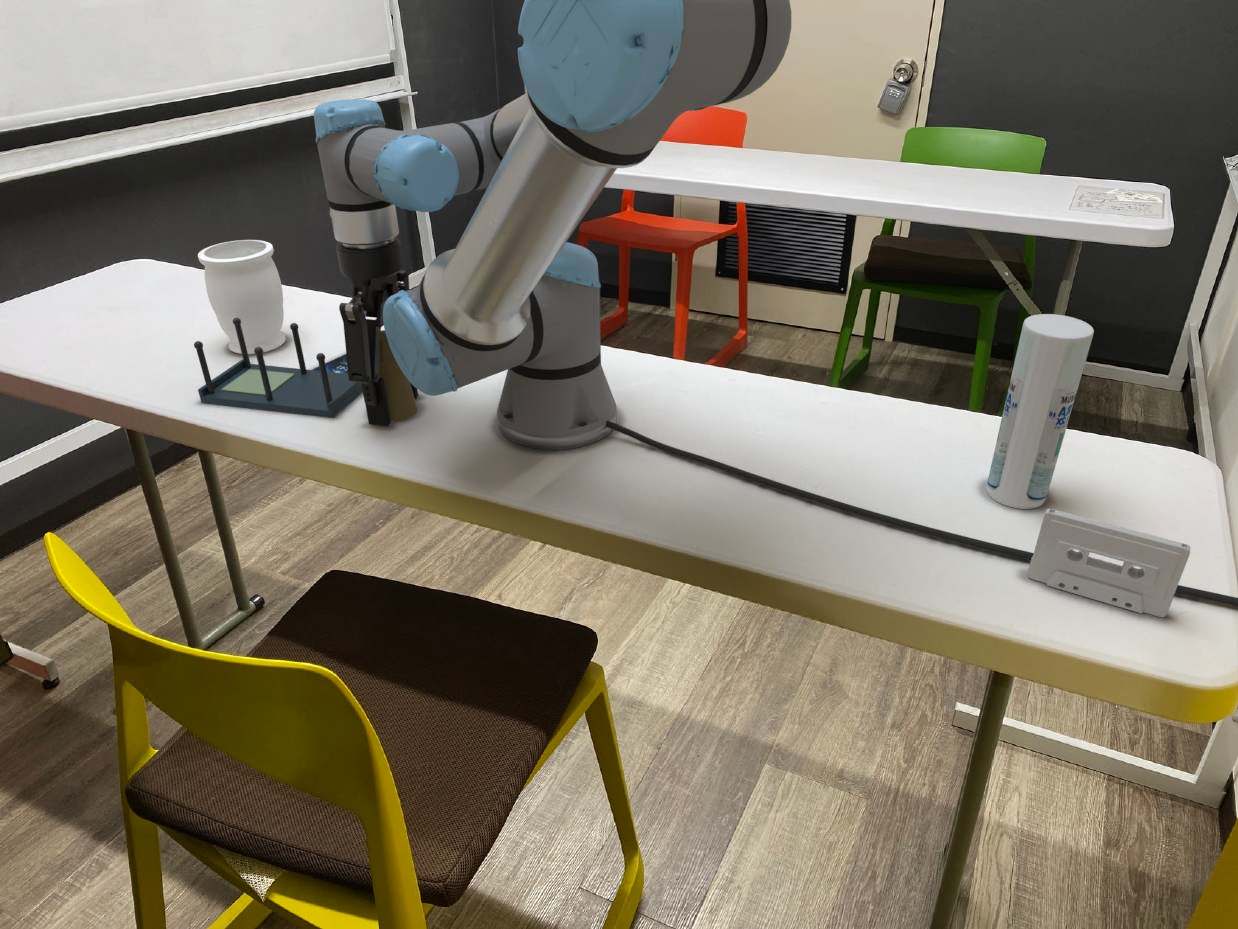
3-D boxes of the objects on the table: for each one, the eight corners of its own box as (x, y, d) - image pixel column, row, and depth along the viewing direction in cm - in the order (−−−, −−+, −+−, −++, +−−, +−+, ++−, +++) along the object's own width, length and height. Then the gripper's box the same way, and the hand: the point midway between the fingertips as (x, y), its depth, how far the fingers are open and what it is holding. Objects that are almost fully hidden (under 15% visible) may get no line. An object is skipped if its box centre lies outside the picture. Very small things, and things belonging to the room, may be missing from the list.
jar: (270, 360, 134) (247, 262, 126) (208, 355, 135) (181, 258, 128) (305, 333, 143) (286, 240, 135) (246, 329, 144) (224, 237, 137)
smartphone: (418, 346, 137) (345, 382, 126) (419, 350, 138) (346, 386, 127) (382, 336, 141) (307, 371, 130) (382, 340, 141) (308, 374, 130)
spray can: (993, 472, 104) (1032, 309, 94) (1053, 489, 101) (1100, 322, 90) (977, 498, 99) (1016, 328, 89) (1039, 516, 96) (1086, 343, 86)
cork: (362, 411, 119) (348, 334, 113) (401, 396, 123) (390, 321, 117) (387, 426, 115) (374, 347, 110) (426, 411, 119) (416, 333, 113)
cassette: (1166, 610, 83) (1193, 542, 79) (1165, 622, 81) (1191, 553, 77) (1028, 570, 88) (1046, 504, 84) (1025, 580, 87) (1043, 514, 83)
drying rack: (373, 382, 127) (363, 325, 122) (333, 417, 118) (321, 357, 113) (248, 369, 131) (235, 314, 127) (201, 402, 122) (184, 344, 118)
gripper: (378, 214, 117) (402, 374, 128) (292, 264, 100) (329, 443, 111) (432, 217, 115) (451, 379, 127) (354, 268, 98) (384, 450, 110)
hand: (394, 409), depth 119 cm, fingers open, 8 cm apart
